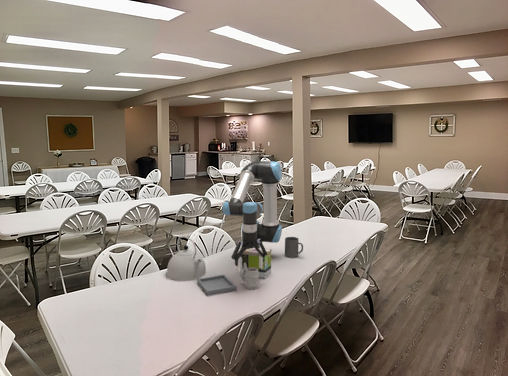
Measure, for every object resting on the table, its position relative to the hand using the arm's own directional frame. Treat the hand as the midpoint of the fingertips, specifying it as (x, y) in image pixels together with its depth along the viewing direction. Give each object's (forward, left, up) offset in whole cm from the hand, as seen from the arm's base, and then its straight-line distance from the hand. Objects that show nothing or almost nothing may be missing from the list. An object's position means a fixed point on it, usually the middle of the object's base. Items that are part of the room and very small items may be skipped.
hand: (249, 269), depth 207 cm
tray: (-6, -17, -9) cm, 20 cm away
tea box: (-14, +11, -10) cm, 20 cm away
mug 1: (0, 0, -9) cm, 9 cm away
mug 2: (-32, +48, -9) cm, 59 cm away
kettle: (-31, -25, -10) cm, 41 cm away
